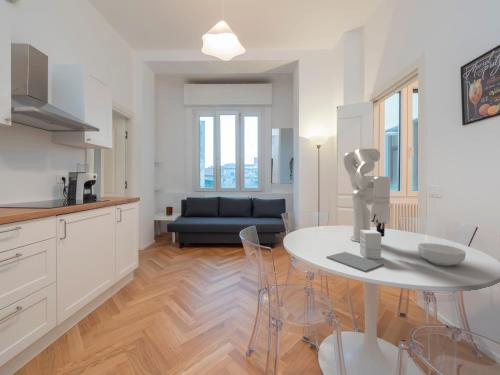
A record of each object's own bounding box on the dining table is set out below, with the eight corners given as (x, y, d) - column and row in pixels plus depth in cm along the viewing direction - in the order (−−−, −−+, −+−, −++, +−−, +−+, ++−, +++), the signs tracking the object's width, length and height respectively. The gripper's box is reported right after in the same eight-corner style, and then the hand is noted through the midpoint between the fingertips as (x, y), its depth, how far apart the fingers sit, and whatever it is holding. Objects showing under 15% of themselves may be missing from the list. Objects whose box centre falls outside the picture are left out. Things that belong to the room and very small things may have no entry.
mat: (344, 252, 120) (344, 251, 120) (383, 265, 103) (383, 263, 103) (326, 257, 113) (326, 256, 113) (365, 271, 96) (365, 270, 96)
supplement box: (374, 254, 118) (375, 229, 118) (381, 259, 111) (381, 233, 110) (359, 253, 119) (359, 229, 119) (365, 258, 112) (365, 232, 111)
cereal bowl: (475, 271, 96) (476, 255, 96) (430, 268, 100) (430, 252, 99) (449, 257, 113) (449, 243, 113) (411, 255, 116) (411, 241, 116)
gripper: (381, 199, 126) (381, 232, 126) (365, 200, 118) (364, 236, 118) (396, 200, 119) (395, 235, 120) (380, 201, 111) (379, 239, 112)
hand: (380, 235), depth 119 cm, fingers closed
